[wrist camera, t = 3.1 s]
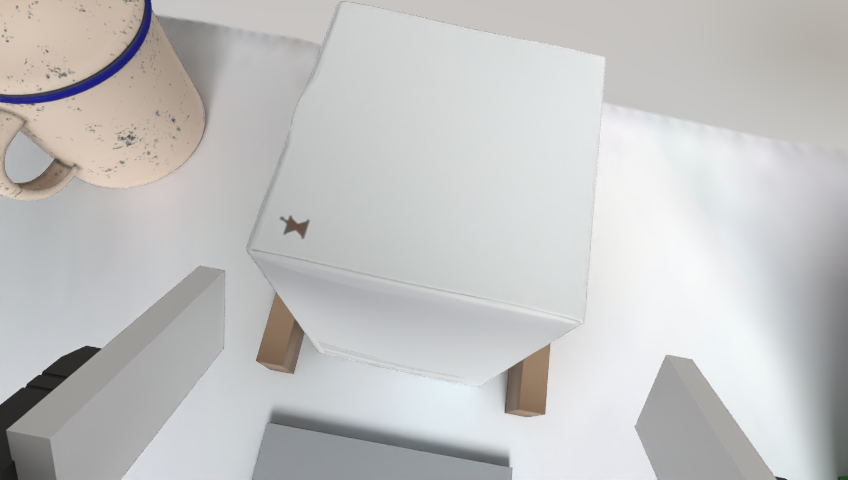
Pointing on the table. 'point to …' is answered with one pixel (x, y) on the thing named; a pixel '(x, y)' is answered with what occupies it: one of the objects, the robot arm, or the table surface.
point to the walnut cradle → (522, 382)
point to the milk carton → (843, 478)
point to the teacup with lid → (94, 94)
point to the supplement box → (435, 196)
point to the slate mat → (358, 460)
